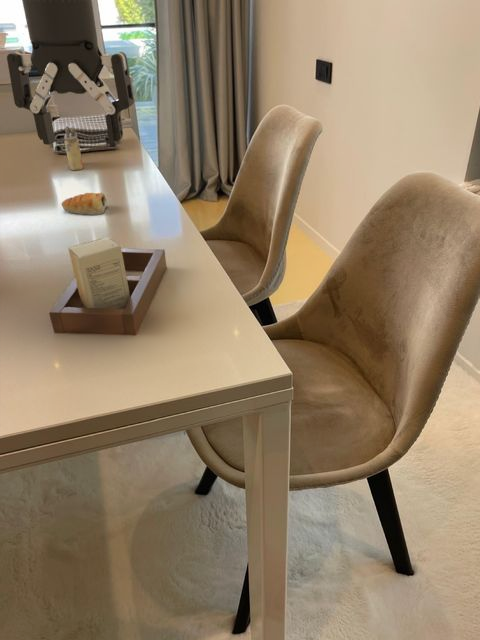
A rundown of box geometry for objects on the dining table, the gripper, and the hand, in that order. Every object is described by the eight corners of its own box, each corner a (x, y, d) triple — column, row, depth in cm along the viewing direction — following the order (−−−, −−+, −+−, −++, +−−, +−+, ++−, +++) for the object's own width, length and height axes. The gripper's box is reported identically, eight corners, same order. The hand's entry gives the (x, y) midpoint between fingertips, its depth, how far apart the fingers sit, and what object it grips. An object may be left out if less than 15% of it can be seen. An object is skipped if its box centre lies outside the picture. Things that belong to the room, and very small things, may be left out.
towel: (53, 143, 172) (48, 116, 168) (114, 138, 177) (110, 112, 172) (54, 156, 160) (48, 127, 156) (119, 150, 165) (115, 122, 160)
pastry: (59, 216, 120) (56, 198, 118) (67, 205, 125) (64, 188, 123) (104, 215, 120) (101, 197, 118) (109, 204, 126) (106, 188, 124)
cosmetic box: (123, 310, 86) (110, 235, 79) (135, 321, 83) (123, 245, 76) (83, 323, 83) (66, 246, 76) (94, 335, 80) (78, 256, 73)
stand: (56, 343, 78) (48, 312, 76) (101, 275, 96) (96, 247, 93) (137, 345, 78) (132, 314, 75) (167, 276, 96) (164, 249, 93)
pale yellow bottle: (83, 170, 148) (75, 130, 143) (68, 171, 147) (60, 131, 142) (82, 163, 154) (76, 124, 148) (68, 164, 153) (61, 125, 148)
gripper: (127, -6, 65) (143, 138, 75) (9, -7, 66) (39, 136, 75) (108, -5, 59) (128, 152, 68) (-22, -5, 60) (15, 150, 69)
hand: (82, 143), depth 72 cm, fingers open, 8 cm apart
